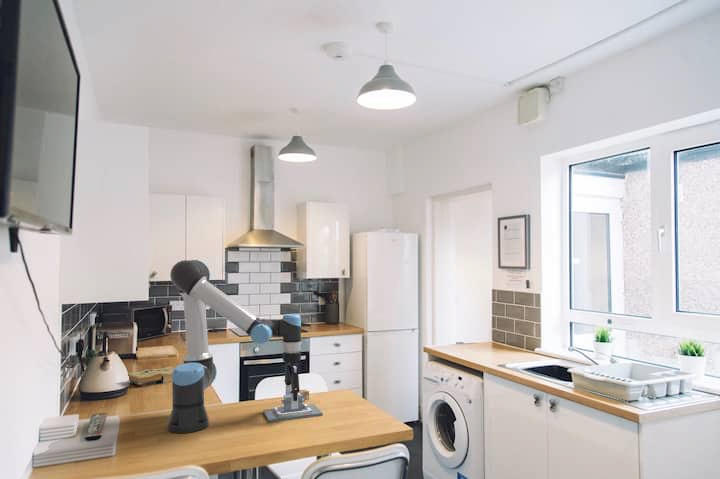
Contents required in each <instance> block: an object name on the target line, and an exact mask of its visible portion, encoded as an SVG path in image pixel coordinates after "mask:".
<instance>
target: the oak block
mask: <svg viewBox="0 0 720 479" xmlns="http://www.w3.org/2000/svg"><path fill="white" fill-rule="evenodd" d="M299 390H300V392H298V393H300V394H301V395H302V398H303V399H304V400H306V401H310V391H309V390H307V389H299Z"/></svg>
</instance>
